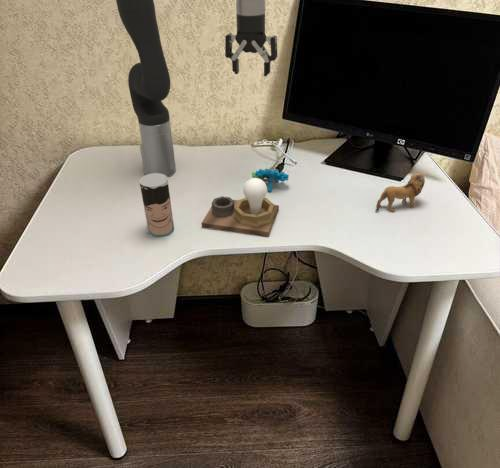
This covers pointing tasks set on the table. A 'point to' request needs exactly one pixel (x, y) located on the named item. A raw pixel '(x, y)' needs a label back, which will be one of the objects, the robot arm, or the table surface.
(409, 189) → the lion figurine
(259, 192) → the lightbulb
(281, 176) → the gear
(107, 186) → the table surface
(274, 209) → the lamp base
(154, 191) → the face-printed can
